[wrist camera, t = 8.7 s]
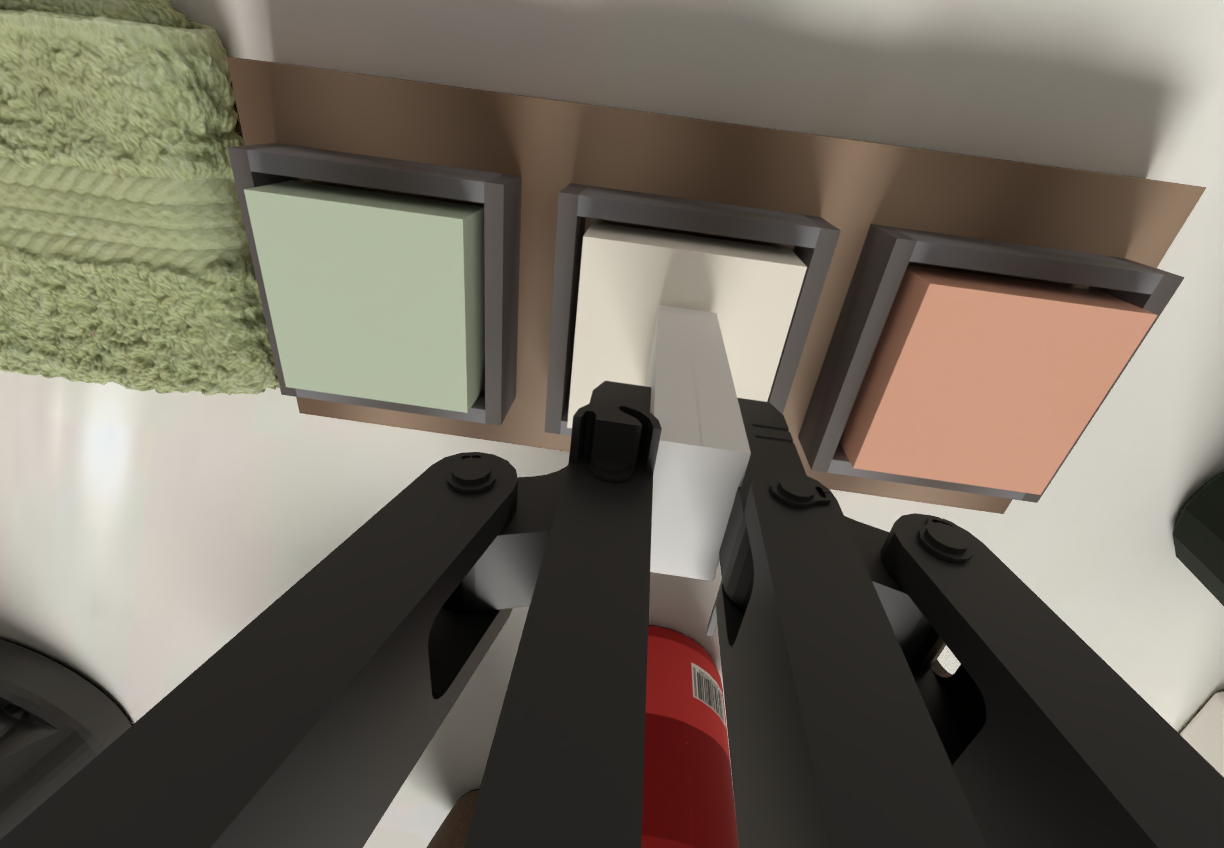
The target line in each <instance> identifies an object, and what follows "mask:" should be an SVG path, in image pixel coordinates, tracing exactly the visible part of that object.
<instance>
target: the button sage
mask: <svg viewBox="0 0 1224 848" xmlns="http://www.w3.org/2000/svg"><path fill="white" fill-rule="evenodd" d="M244 193H245V198H246V202H247V207H248V212H249V216H250V221H251V226H252V230H253V235H254V240H255V244H256V249H257V254H258V258H259V263H260V268H261V272H262V277H263V282H264V286H265V291H266V296H267V300H268V305H269V310H270V314H271V319H272V324H273V328H274V333H275V338H276V342H277V347H278V352H279V357H280V361H281V366H282V371H283V375H284V380H285V385H286V387H289V388H296V389H303V390H310V391H317V392H324V393H331V394H338V395H345V396H352V397H359V398H366V399H373V400H380V401H387V402H394V403H401V404H408V405H415V406H422V407H429V408H436V409H443V410H450V411H457V412H464V413H468V411H469V410H470V408H471V407H472V405H473V404H474V402H475V401H476V399H477V398H478V396H479V394H480V393H481V391H482V390H483V388H484V387H485V244H484V207H483V206H476V205H468V204H461V203H454V202H446V201H439V200H432V199H424V198H417V197H410V196H402V195H395V194H388V193H381V192H373V191H366V190H359V189H351V188H344V187H337V186H329V185H322V184H315V183H307V182H300V181H293V180H291V181H286V182H280V183H275V184H270V185H264V186H259V187H254V188H248V189H244Z"/></svg>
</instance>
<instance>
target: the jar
mask: <svg viewBox="0 0 1224 848" xmlns="http://www.w3.org/2000/svg"><path fill="white" fill-rule="evenodd" d="M1180 735H1181V736H1182V737H1183V738H1184V739H1185V740H1186V741H1187V742H1188V743H1189V744H1190V745H1191V746H1192V747H1193V748H1194V749H1195V750H1196V751H1197V752H1198V753H1199V754H1200V755H1201V756H1202V757H1203V758H1204V759H1205V760H1206V761H1208V762H1209V763H1210V764H1211V765H1212V766H1213V767H1214V768H1215V769H1216V770H1217V771H1218V772H1219V773H1220V774H1221V775H1222V776H1223V777H1224V691H1222V692H1217V693H1215V694H1214V695H1213V696H1212V697H1211V699H1210V700H1209V701H1208V702H1207V703H1206V704H1205V706H1204V707H1203V708H1202V709H1201V710H1200V711H1199V713H1198V714H1197V715H1196V716H1195V717H1194V718H1193V719H1192V721H1191V722H1190V723H1189V724H1188V725H1187V726H1186V727H1185V729H1184V730H1183V731H1182V732H1181V733H1180Z"/></svg>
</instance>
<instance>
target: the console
mask: <svg viewBox="0 0 1224 848" xmlns="http://www.w3.org/2000/svg"><path fill="white" fill-rule="evenodd" d="M227 61H228V66H229V71H230V76H231V80H232V85H233V90H234V95H235V100H236V105H237V110H238V115H239V119H240V124H241V129H242V134H243V139H244V144H245V146H235V147H227V149H228V153H229V158H230V162H231V167H232V171H233V176H234V180H235V185H236V189H237V194H238V198H239V203H240V208H241V212H242V217H243V221H244V226H245V230H246V235H247V239H248V244H249V248H250V253H251V258H252V262H253V267H254V271H255V276H256V280H257V285H258V289H259V294H260V298H261V303H262V308H263V312H264V317H265V321H266V326H267V330H268V335H269V339H270V344H271V348H272V353H273V357H274V362H275V367H276V371H277V376H278V380H279V385H280V389H281V394H282V395H289V396H296V397H297V402H298V407H299V412H300V413H303V414H310V415H317V416H324V417H331V418H338V419H345V420H352V421H359V422H366V423H373V424H380V425H387V426H394V427H401V428H408V429H415V430H422V431H429V432H436V433H443V434H450V435H457V436H464V437H471V438H478V439H484V440H491V441H498V442H505V443H512V444H519V445H526V446H533V447H540V448H547V449H554V450H561V451H568V452H570V445H571V434H572V428H567V422H568V410H569V399H570V387H571V375H572V363H573V351H574V340H575V328H576V316H577V304H578V292H579V280H580V269H581V257H582V245H583V236H584V234H585V233H586V231H587V230H588V228H589V227H590V225H591V224H592V222H598V223H605V224H613V225H620V226H627V227H635V228H642V229H649V230H656V231H664V232H671V233H678V234H686V235H693V236H700V237H708V238H715V239H722V240H730V241H737V242H744V243H751V244H759V245H766V246H773V247H781V248H788V249H791V250H792V251H793V252H794V253H795V254H796V255H797V256H798V258H799V259H800V260H801V261H802V262H803V263H804V264H805V265H806V266H807V269H806V272H805V276H804V279H803V282H802V286H801V289H800V293H799V296H798V299H797V303H796V306H795V310H794V313H793V316H792V320H791V323H790V326H789V330H788V333H787V337H786V340H785V343H784V347H783V350H782V354H781V357H780V360H779V364H778V367H777V370H776V374H775V377H774V381H773V384H772V387H771V391H770V394H769V397H768V401H767V402H770V403H771V404H772V405H773V406H774V407H775V408H776V409H777V410H778V411H779V412H780V413H782V414H783V415H784V418H785V420H786V423H787V425H788V428H789V432H790V433H791V436H792V439H793V443H794V444H795V446H796V449H797V452H798V454H799V457H800V459H801V462H802V465H803V467H804V470H805V473H806V475H807V476H808V477H811V478H813V479H815V480H817V481H819V482H820V483H821V484H822V485H824V486H825V487H826V488H828V489H833V490H840V491H847V492H854V493H861V494H868V495H875V496H882V497H889V498H896V499H903V500H909V501H916V502H923V503H930V504H937V505H944V506H951V507H958V508H965V509H972V510H979V511H986V512H993V513H1000V514H1004V512H1005V511H1006V509H1007V507H1008V506H1009V504H1010V503H1011V501H1012V499H1015V500H1022V501H1029V502H1036V503H1037V502H1038V501H1039V499H1040V498H1041V496H1042V495H1043V493H1044V492H1045V490H1046V489H1047V487H1048V485H1049V484H1050V482H1051V481H1052V479H1053V478H1054V476H1055V475H1056V473H1057V472H1058V470H1059V469H1060V467H1061V466H1062V464H1063V463H1064V461H1065V459H1066V458H1067V456H1068V455H1069V453H1070V452H1071V450H1072V449H1073V447H1074V446H1075V444H1076V443H1077V441H1078V440H1079V438H1080V437H1081V435H1082V433H1083V432H1084V430H1085V429H1086V427H1087V426H1088V424H1089V423H1090V421H1091V420H1092V418H1093V417H1094V415H1095V414H1096V412H1097V411H1098V409H1099V407H1100V406H1101V404H1102V403H1103V401H1104V400H1105V398H1106V397H1107V395H1108V394H1109V392H1110V391H1111V389H1112V388H1113V386H1114V385H1115V383H1116V381H1117V380H1118V378H1119V377H1120V375H1121V374H1122V372H1123V371H1124V369H1125V368H1126V366H1127V365H1128V363H1129V362H1130V360H1131V359H1132V357H1133V355H1134V354H1135V352H1136V351H1137V349H1138V348H1139V346H1140V345H1141V343H1142V342H1143V340H1144V339H1145V337H1146V336H1147V334H1148V333H1149V331H1150V329H1151V328H1152V326H1153V325H1154V323H1155V322H1156V320H1157V319H1158V317H1159V316H1160V314H1161V313H1162V311H1163V310H1164V308H1165V307H1166V305H1167V303H1168V302H1169V300H1170V299H1171V297H1172V296H1173V294H1174V293H1175V291H1176V290H1177V288H1178V287H1179V285H1180V284H1181V282H1182V281H1183V279H1184V277H1181V276H1178V275H1175V274H1172V273H1169V272H1166V271H1163V270H1160V269H1157V266H1158V265H1159V263H1160V261H1161V260H1162V258H1163V256H1164V255H1165V253H1166V252H1167V250H1168V248H1169V247H1170V245H1171V244H1172V242H1173V240H1174V239H1175V237H1176V236H1177V234H1178V232H1179V231H1180V229H1181V228H1182V226H1183V224H1184V223H1185V221H1186V219H1187V218H1188V216H1189V215H1190V213H1191V211H1192V210H1193V208H1194V207H1195V205H1196V203H1197V202H1198V200H1199V199H1200V197H1201V195H1202V194H1203V192H1204V191H1205V189H1206V187H1199V186H1192V185H1185V184H1178V183H1171V182H1164V181H1157V180H1150V179H1143V178H1135V177H1128V176H1120V175H1113V174H1105V173H1098V172H1090V171H1083V170H1075V169H1068V168H1060V167H1053V166H1045V165H1038V164H1030V163H1023V162H1015V161H1008V160H1000V159H993V158H985V157H978V156H970V155H963V154H955V153H948V152H940V151H933V150H925V149H918V148H910V147H903V146H895V145H888V144H880V143H873V142H866V141H858V140H851V139H843V138H836V137H828V136H821V135H813V134H806V133H798V132H791V131H783V130H776V129H768V128H761V127H753V126H746V125H738V124H731V123H723V122H716V121H708V120H701V119H693V118H686V117H678V116H671V115H663V114H656V113H648V112H641V111H633V110H626V109H618V108H611V107H603V106H596V105H588V104H581V103H573V102H566V101H558V100H551V99H544V98H536V97H529V96H521V95H514V94H506V93H499V92H491V91H484V90H476V89H469V88H461V87H454V86H446V85H439V84H431V83H424V82H416V81H409V80H401V79H394V78H386V77H379V76H371V75H364V74H356V73H349V72H341V71H334V70H326V69H319V68H311V67H304V66H296V65H289V64H281V63H274V62H266V61H258V60H249V59H241V58H233V57H227ZM291 180H293V181H300V182H307V183H315V184H322V185H329V186H337V187H344V188H351V189H359V190H366V191H373V192H381V193H388V194H395V195H402V196H410V197H417V198H424V199H432V200H439V201H446V202H454V203H461V204H468V205H476V206H483V207H484V244H485V387H484V388H483V390H482V391H481V393H480V394H479V396H478V398H477V399H476V401H475V402H474V404H473V405H472V407H471V408H470V410H469V411H468V413H464V412H457V411H450V410H443V409H436V408H429V407H422V406H415V405H408V404H401V403H394V402H387V401H380V400H373V399H366V398H359V397H352V396H345V395H338V394H331V393H324V392H317V391H310V390H303V389H296V388H289V387H286V385H285V380H284V375H283V371H282V366H281V361H280V357H279V352H278V347H277V342H276V338H275V333H274V328H273V324H272V319H271V314H270V310H269V305H268V300H267V296H266V291H265V286H264V282H263V277H262V272H261V268H260V263H259V258H258V254H257V249H256V244H255V240H254V235H253V230H252V226H251V221H250V216H249V212H248V207H247V202H246V198H245V193H244V189H248V188H254V187H259V186H264V185H270V184H275V183H280V182H286V181H291ZM908 265H914V266H921V267H928V268H935V269H943V270H950V271H957V272H965V273H972V274H979V275H987V276H994V277H1001V278H1008V279H1016V280H1023V281H1030V282H1038V283H1045V284H1052V285H1060V286H1067V287H1074V288H1082V289H1089V290H1096V291H1101V292H1104V293H1106V294H1109V295H1111V296H1113V297H1116V298H1118V299H1121V300H1123V301H1125V302H1128V303H1130V304H1133V305H1135V306H1138V307H1140V308H1142V309H1145V310H1147V311H1150V312H1152V313H1154V314H1157V315H1158V316H1157V317H1156V319H1155V320H1154V322H1153V323H1152V325H1151V326H1150V328H1149V329H1148V331H1147V332H1146V334H1145V335H1144V337H1143V339H1142V340H1141V342H1140V343H1139V345H1138V346H1137V348H1136V349H1135V351H1134V352H1133V354H1132V355H1131V357H1130V358H1129V360H1128V362H1127V363H1126V365H1125V366H1124V368H1123V369H1122V371H1121V372H1120V374H1119V375H1118V377H1117V378H1116V380H1115V381H1114V383H1113V385H1112V386H1111V388H1110V389H1109V391H1108V392H1107V394H1106V395H1105V397H1104V398H1103V400H1102V401H1101V403H1100V404H1099V406H1098V408H1097V409H1096V411H1095V412H1094V414H1093V415H1092V417H1091V418H1090V420H1089V421H1088V423H1087V424H1086V426H1085V428H1084V429H1083V431H1082V432H1081V434H1080V435H1079V437H1078V438H1077V440H1076V441H1075V443H1074V444H1073V446H1072V447H1071V449H1070V451H1069V452H1068V454H1067V455H1066V457H1065V458H1064V460H1063V461H1062V463H1061V464H1060V466H1059V467H1058V469H1057V470H1056V472H1055V474H1054V475H1053V477H1052V478H1051V480H1050V481H1049V483H1048V484H1047V486H1046V487H1045V489H1044V490H1043V492H1042V493H1041V495H1038V494H1031V493H1024V492H1017V491H1010V490H1003V489H996V488H989V487H982V486H975V485H968V484H961V483H954V482H947V481H940V480H933V479H926V478H919V477H912V476H905V475H898V474H891V473H884V472H877V471H870V470H863V469H856V468H853V467H852V465H851V463H850V461H849V459H848V458H847V456H846V454H845V452H844V450H843V448H842V446H841V444H840V442H839V441H840V438H841V435H842V433H843V430H844V428H845V425H846V423H847V420H848V417H849V415H850V412H851V410H852V407H853V405H854V402H855V399H856V397H857V394H858V392H859V389H860V387H861V384H862V381H863V379H864V376H865V374H866V371H867V369H868V366H869V363H870V361H871V358H872V356H873V353H874V351H875V348H876V345H877V343H878V340H879V338H880V335H881V333H882V330H883V327H884V325H885V322H886V320H887V317H888V315H889V312H890V309H891V307H892V304H893V302H894V299H895V297H896V294H897V291H898V289H899V286H900V284H901V281H902V279H903V276H904V273H905V271H906V268H907V266H908Z"/></svg>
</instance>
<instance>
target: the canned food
mask: <svg viewBox="0 0 1224 848" xmlns="http://www.w3.org/2000/svg"><path fill="white" fill-rule="evenodd" d="M641 848H739V844H738V833H737V823H736V814H735V804H734V794H733V785H732V775H731V766H730V756H729V746H728V737H727V727H726V717H725V708H724V698H723V689H722V683H721V678H720V675H719V673H718V671H717V669H716V666H715V664H714V662H713V660H712V658H711V656H710V655H709V654H708V653H707V652H706V650H705V649H704V648H703V647H702V646H700V645H699V644H698V643H696V642H695V641H694V640H692V639H690V638H688V637H687V636H685V635H683V634H681V633H678V632H675V631H672V630H670V629H666V628H661V627H657V626H649V625H648V654H647V685H646V716H645V747H644V778H643V810H642V841H641Z"/></svg>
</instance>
